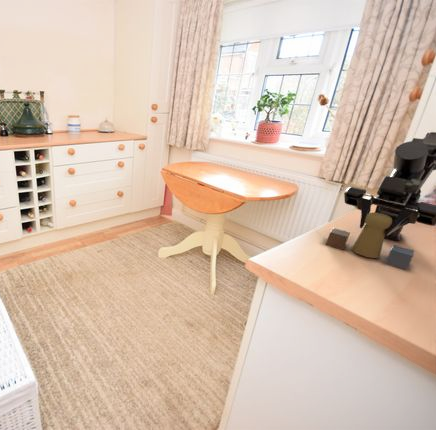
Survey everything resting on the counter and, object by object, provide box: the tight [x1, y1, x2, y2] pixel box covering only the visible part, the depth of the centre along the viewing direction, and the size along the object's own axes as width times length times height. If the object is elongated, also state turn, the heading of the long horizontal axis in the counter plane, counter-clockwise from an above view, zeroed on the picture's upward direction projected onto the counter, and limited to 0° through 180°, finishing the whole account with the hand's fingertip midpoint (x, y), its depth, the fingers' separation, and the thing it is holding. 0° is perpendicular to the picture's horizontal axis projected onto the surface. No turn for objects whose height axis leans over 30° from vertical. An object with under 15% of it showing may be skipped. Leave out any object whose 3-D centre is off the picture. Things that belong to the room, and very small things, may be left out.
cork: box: [351, 212, 392, 259], centre depth 76 cm, size 6×6×11 cm
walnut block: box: [325, 227, 351, 250], centre depth 82 cm, size 4×4×4 cm
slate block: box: [384, 244, 415, 271], centre depth 73 cm, size 4×4×4 cm
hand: (372, 231), depth 75 cm, fingers closed on cork, 5 cm apart
